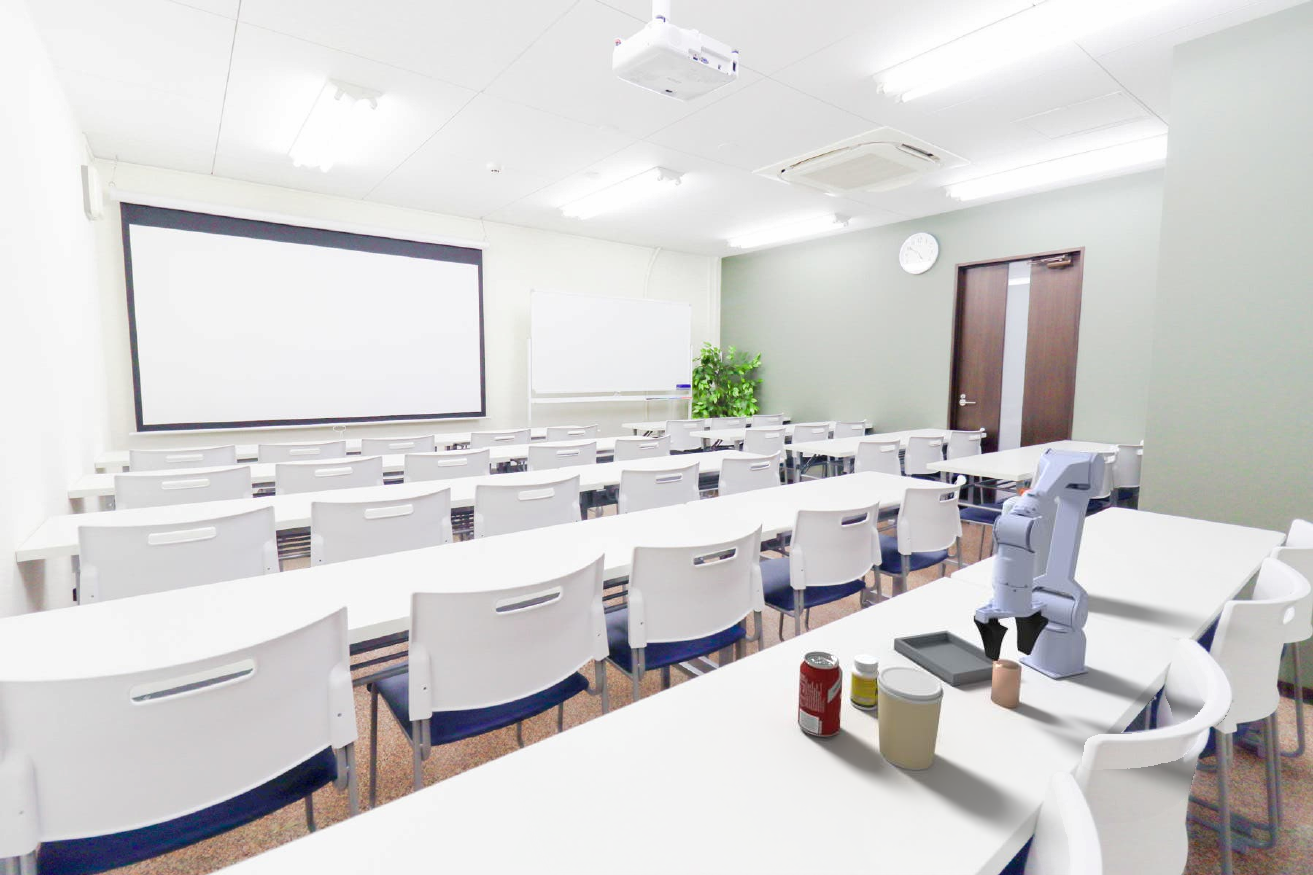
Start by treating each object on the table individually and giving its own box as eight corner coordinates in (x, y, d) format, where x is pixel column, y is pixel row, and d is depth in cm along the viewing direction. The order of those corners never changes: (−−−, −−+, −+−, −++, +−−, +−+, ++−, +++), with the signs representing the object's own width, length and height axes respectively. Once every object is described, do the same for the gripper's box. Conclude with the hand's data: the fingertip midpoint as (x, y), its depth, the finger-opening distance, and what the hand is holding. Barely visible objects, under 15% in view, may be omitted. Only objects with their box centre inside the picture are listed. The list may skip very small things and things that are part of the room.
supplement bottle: (879, 712, 104) (882, 666, 103) (851, 709, 105) (853, 663, 104) (875, 698, 109) (877, 654, 108) (848, 695, 110) (850, 651, 109)
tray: (945, 640, 133) (946, 630, 133) (1008, 675, 118) (1009, 663, 118) (893, 649, 128) (894, 638, 128) (952, 686, 113) (953, 674, 113)
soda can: (817, 744, 95) (820, 672, 94) (789, 722, 101) (791, 654, 100) (848, 733, 98) (852, 663, 97) (819, 712, 104) (822, 646, 103)
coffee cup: (915, 733, 98) (919, 663, 97) (952, 770, 89) (957, 693, 88) (862, 738, 97) (866, 667, 95) (894, 777, 87) (899, 699, 86)
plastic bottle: (1063, 590, 166) (1071, 490, 163) (1051, 604, 155) (1060, 498, 152) (1001, 576, 176) (1009, 482, 173) (986, 589, 165) (994, 489, 162)
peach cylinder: (1003, 693, 111) (1006, 657, 110) (1024, 705, 107) (1027, 668, 106) (984, 697, 110) (987, 660, 109) (1005, 709, 106) (1008, 671, 105)
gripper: (1024, 571, 112) (1018, 640, 113) (963, 578, 107) (958, 651, 109) (1060, 583, 105) (1053, 657, 107) (997, 592, 101) (991, 669, 102)
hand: (1008, 655), depth 107 cm, fingers open, 7 cm apart
